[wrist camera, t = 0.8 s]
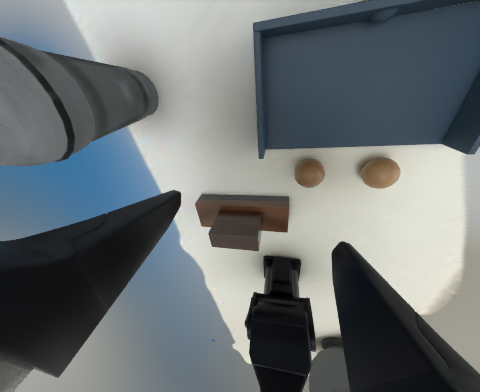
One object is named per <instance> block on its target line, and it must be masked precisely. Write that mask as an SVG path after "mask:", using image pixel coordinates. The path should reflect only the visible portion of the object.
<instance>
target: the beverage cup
mask: <svg viewBox="0 0 480 392" xmlns="http://www.w3.org/2000/svg"><path fill="white" fill-rule="evenodd" d="M157 106H158V96H157V92H156V89H155V87H154V85H153V84H152V82H151V81H150V80H149V78H147V77H146V76H145V75H144V74H142V73H140V72H138V71H133V70H129V69H127V68H123V67H118V66H113V65H108V64H103V63H98V62H94V61H89V60H84V59H79V58H74V57H69V56H64V55H59V54H54V53H50V52H45V51H40V50H37V49H35V48H32V47H30V46H27V45H24V44H21V43H17V42H14V41H11V40H8V39H5V38H1V37H0V165H7V166H32V165H39V164H44V163H48V162H58V161H62V160H65V159H68V158H69V157H70V155H71V154H73V153H76V152H78V151H79V150H81V149H82V148H84V147H86V146H87V145H88V144H89V143H90V142H92V141H94V140H96V139H99V138H101V137H103V136H105V135H108V134H110V133H112V132H114V131H116V130H118V129H121V128H123V127H126V126H128V125H130V124H132V123H135V122H137V121H139V120H141V119H144V118H146V116H148V115H150V114H153V113H154V112H155V111H156V108H157Z"/></svg>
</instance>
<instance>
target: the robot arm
mask: <svg viewBox="0 0 480 392" xmlns="http://www.w3.org/2000/svg"><path fill="white" fill-rule="evenodd" d="M180 205H181V193H180V192H179V191H175V190H172V191H169V192H166V193H163V194H160V195H157V196H155V197H152V198H149V199H146V200H143V201H140V202H137V203H135V204H132V205H129V206H126V207H123V208H120V209H117V210H114V211H111V212H109V213H107V214H103V215H100V216H97V217H94V218H91V219H88V220H85V221H81V222H78V223H75V224H71V225H69V226H65V227H61V228H57V229H54V230H51V231H47V232H43V233H40V234H36V235H33V236H29V237H25V238H21V239H16V240H10V241H0V392H14V391H15V389H16V388H17V387H18V386H19V385H20V384H21V382H22V381H23V380H24V379H25V378H26V377H27V375H28V374H29V373H30V372H31V371H32V370H33V369H36V370H38V371H41V372H44V373H46V374H49V375H52V376H55V377H57V378H58V377H59V376H60V375H61V374H62V373H63V371H64V370H65V368H66V367H67V366H68V365H69V363H70V362H71V360H72V359H73V358H74V356H75V355H76V354H77V352H78V351H79V350H80V348H81V347H82V345H83V344H84V343H85V341H86V340H87V339H88V337H89V336H90V335H91V333H92V332H93V330H94V329H95V328H96V326H97V325H98V324H99V322H100V321H101V319H102V318H103V317H104V315H105V314H106V312H107V311H108V309H109V308H110V307H111V306H112V304H113V303H114V302H115V300H116V299H117V297H118V296H119V295H120V293H121V292H122V291H123V289H124V288H125V287H126V285H127V284H128V282H129V281H130V280H131V278H132V277H133V276H134V274H135V273H136V271H137V270H138V269H139V267H140V266H141V265H142V263H143V262H144V261H145V259H146V258H147V256H148V255H149V254H150V252H151V251H152V250H153V248H154V247H155V246H156V244H157V243H158V241H159V240H160V239H161V237H162V236H163V234H164V233H165V232H166V230H167V229H168V227H169V226H170V224H171V222H172V220H173V218H174V217H175V215H176V213H177V211H178V210H179V208H180ZM300 267H301V260H299V259H291V258H281V257H271V256H264V278H265V286H264V294H261V293H257V292H254V294H253V297H252V298H251V303H250V307H249V312H248V314H247V317H246V320H245V326H246V328H247V336H248V339H249V340H250V349H249V354H250V358H251V362H252V364H253V367H254V370H255V373H256V376H257V379H258V382H259V386H260V392H302V390H303V387H304V385H305V382H306V379H307V377H308V375H309V372H310V369H311V366H312V360H311V351H314V352H315V351H316V342H315V331H314V324H313V317H312V311H311V305H310V299H309V298H299V285H298V281H299V274H300ZM332 275H333V286H334V292H335V299H336V305H337V311H338V318H339V324H340V331H341V337H342V343H343V350H344V356H345V362H346V369H347V375H348V382H349V388H350V392H480V374H479V373H478V372H477V371H476V370H475V369H474V368H473V367H472V366H471V365H470V364H469V363H468V362H467V361H465V360H464V359H463V358H462V357H461V356H460V355H459V354H458V353H457V352H456V351H455V350H454V349H453V348H452V347H451V346H450V345H449V344H448V343H447V342H446V341H445V340H444V339H442V338H441V337H440V336H439V335H438V334H437V333H436V332H435V331H434V330H433V329H432V328H431V327H430V326H429V325H428V324H427V323H426V322H425V321H424V320H423V319H422V317H421V316H420V315H419V314H418V313H417V312H415V311H414V309H413V308H412V307H411V306H410V305H409V304H408V303H407V302H406V301H405V300H404V299H403V298H402V297H401V296H400V295H399V294H398V293H397V292H396V291H395V290H394V289H393V288H392V287H391V286H390V285H389V284H388V283H387V281H386V280H385V279H384V278H383V277H382V276H381V275H380V274H379V273H378V272H377V271H376V270H375V269H374V268H373V267H372V266H371V265H370V264H369V263H368V262H367V261H366V260H365V259H364V258H363V257H362V256H361V255H360V254H359V253H358V252H357V251H356V250H355V249H354V248H353V247H352V245H350V244H349V243H346V242H340V243H339V244H338V245H337V246H336V247H335V248H334V250H333V251H332Z"/></svg>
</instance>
